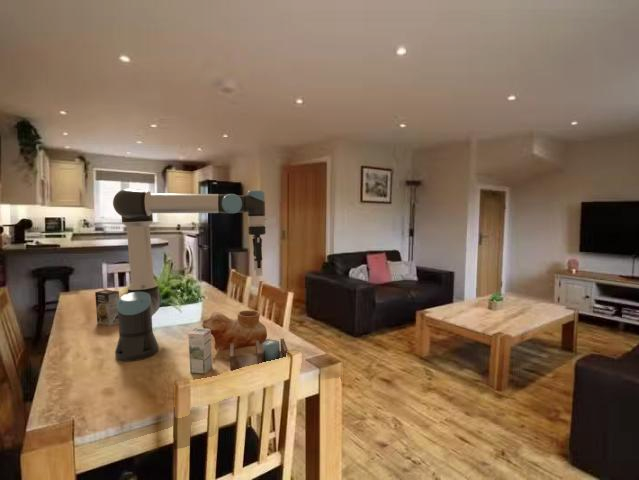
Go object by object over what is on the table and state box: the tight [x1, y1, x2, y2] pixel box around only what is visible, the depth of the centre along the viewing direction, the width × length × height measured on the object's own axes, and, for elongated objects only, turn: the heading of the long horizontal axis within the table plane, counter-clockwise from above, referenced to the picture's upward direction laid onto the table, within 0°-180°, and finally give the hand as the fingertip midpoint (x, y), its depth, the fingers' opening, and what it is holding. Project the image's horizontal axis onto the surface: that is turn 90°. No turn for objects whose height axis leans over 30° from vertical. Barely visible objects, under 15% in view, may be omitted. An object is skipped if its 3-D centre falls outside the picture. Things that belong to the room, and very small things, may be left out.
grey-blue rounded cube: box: [262, 339, 281, 361], centre depth 133 cm, size 6×6×6 cm
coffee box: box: [94, 289, 120, 327], centre depth 180 cm, size 9×6×16 cm
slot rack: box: [229, 338, 289, 371], centre depth 132 cm, size 20×12×6 cm, turn 103°
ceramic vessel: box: [201, 309, 268, 351], centre depth 149 cm, size 14×26×15 cm, turn 114°
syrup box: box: [187, 327, 213, 375], centre depth 126 cm, size 6×6×14 cm
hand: (257, 272), depth 163 cm, fingers open, 13 cm apart
